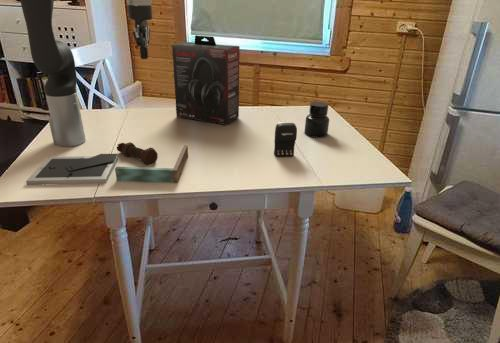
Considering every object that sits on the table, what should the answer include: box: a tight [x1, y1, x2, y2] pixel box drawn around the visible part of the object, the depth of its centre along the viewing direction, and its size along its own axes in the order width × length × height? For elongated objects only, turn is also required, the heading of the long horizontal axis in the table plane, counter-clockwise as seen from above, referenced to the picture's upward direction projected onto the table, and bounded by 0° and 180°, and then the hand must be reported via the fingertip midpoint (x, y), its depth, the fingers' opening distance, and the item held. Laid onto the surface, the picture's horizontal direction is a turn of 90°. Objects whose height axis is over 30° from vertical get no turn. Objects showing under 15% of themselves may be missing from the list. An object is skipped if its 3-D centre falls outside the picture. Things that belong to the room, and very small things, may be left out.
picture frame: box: [25, 153, 119, 186], centre depth 107 cm, size 16×3×21 cm
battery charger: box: [273, 121, 298, 158], centre depth 119 cm, size 7×4×11 cm, turn 95°
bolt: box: [116, 141, 158, 167], centre depth 116 cm, size 6×5×15 cm
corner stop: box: [114, 144, 189, 184], centre depth 110 cm, size 17×18×4 cm
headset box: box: [171, 34, 241, 126], centre depth 148 cm, size 24×13×33 cm, turn 67°
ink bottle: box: [304, 101, 330, 138], centre depth 139 cm, size 10×9×12 cm
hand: (144, 58), depth 125 cm, fingers closed
